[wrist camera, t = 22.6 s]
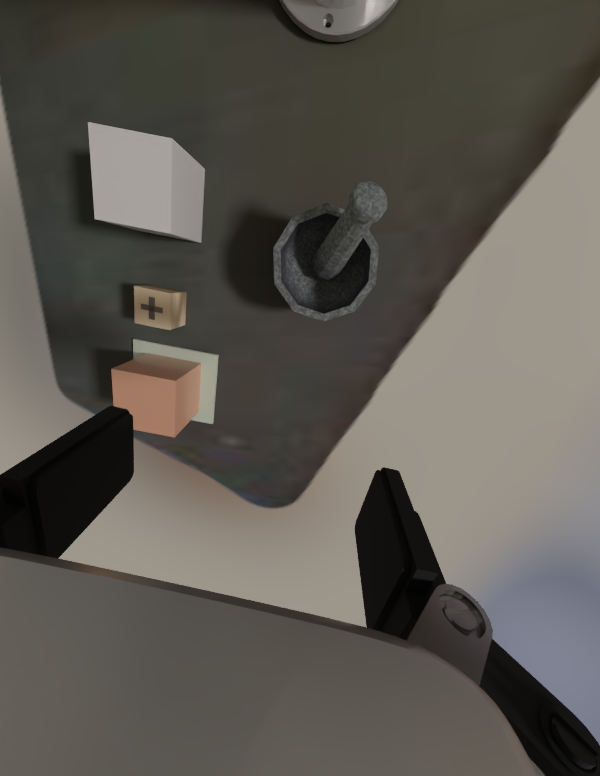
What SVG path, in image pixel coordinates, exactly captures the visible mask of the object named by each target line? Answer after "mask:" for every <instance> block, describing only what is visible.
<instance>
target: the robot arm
mask: <svg viewBox="0 0 600 776" xmlns="http://www.w3.org/2000/svg"><path fill="white" fill-rule="evenodd" d="M279 1H280V3H281V5H282V7H283V9H284V10H285V12H286V13H287V14H288V16H289V17H290V18H291V20H292V21H293V22H294V23H295V24H296V25H297V26H298V27H299V28H300V29H302V30H303V31H304V32H305V33H307V34H309V35H311V36H313V37H314V38H316V39H320V40H324V41H328V42H345V41H349V40H352V39H356V38H358V37H360V36H362V35H364V34H366V33H368V32H370V31H371V30H372V29H373V28H375V27H376V26H377V25H378V24H380V23H381V22H382V21H383V20H384V19H385V18H386V16H387V15H388V14H389V13H390V12H391V11H392V9H393V8H394V7H395V5H396V4H397V2H398V1H399V0H279ZM327 26H330V28H327ZM133 452H134V451H133V416H132V415H131V414H130V413H129V410H127V409H124V408H119V407H115V406H109V407H107V408H106V409H104V410H103V411H101V412H99V413H98V414H96V415H95V416H93V417H92V418H90V419H88V420H87V421H85V422H84V423H82V424H80V425H79V426H78V427H76V428H74V429H72V430H71V431H69V432H68V433H66V434H65V435H63V436H61V437H60V438H58V439H57V440H55V441H53V442H52V443H50V444H49V445H47V446H45V447H44V448H42V449H41V450H39V451H37V452H36V453H34V454H33V455H31V456H30V457H28V458H26V459H25V460H23V461H22V462H20V463H18V464H17V465H15V466H14V467H12V468H10V469H9V470H7V471H6V472H4V473H2V474H1V475H0V776H600V746H599V744H598V742H597V741H596V739H595V738H594V737H593V736H592V734H591V733H590V732H589V730H588V729H587V728H586V726H584V724H583V723H582V722H581V721H580V720H579V719H578V718H577V717H576V716H575V715H574V714H573V713H572V712H571V711H570V710H569V709H568V708H566V706H564V705H563V704H562V703H561V702H560V701H559V700H558V699H557V698H556V697H555V696H554V695H552V694H551V693H550V692H549V691H548V690H547V689H546V688H545V687H544V686H543V685H542V684H541V683H539V682H538V681H537V680H536V679H535V678H534V677H533V676H532V675H531V674H530V673H529V672H527V671H526V670H525V669H524V668H523V667H522V666H521V665H520V664H519V663H518V662H517V661H516V660H515V659H513V658H512V657H511V656H510V655H509V654H508V653H507V652H506V651H505V650H504V649H503V648H501V647H500V646H499V645H498V644H497V643H496V642H495V641H494V640H493V639H492V632H493V630H492V626H491V623H490V620H489V618H488V616H487V614H486V612H485V611H484V609H483V608H482V607H481V606H480V605H479V603H478V602H477V601H476V600H475V599H474V598H473V597H472V596H471V595H470V594H468V593H467V592H465V591H464V590H462V589H461V588H459V587H456V586H454V585H450V584H446V582H445V580H444V577H443V574H442V572H441V569H440V567H439V564H438V562H437V559H436V557H435V555H434V552H433V549H432V547H431V544H430V542H429V539H428V537H427V534H426V532H425V529H424V526H423V524H422V521H421V519H420V517H419V515H418V513H417V512H416V511H414V509H413V506H412V504H411V501H410V499H409V496H408V494H407V491H406V488H405V486H404V483H403V480H402V478H401V475H400V473H399V471H397V470H393V469H389V468H382V469H381V471H379V470H377V471H376V472H375V475H374V478H373V480H372V483H371V485H370V487H369V490H368V492H367V495H366V497H365V500H364V502H363V505H362V508H361V511H360V513H359V515H358V518H357V520H356V524H355V535H356V544H357V552H358V560H359V568H360V576H361V584H362V593H363V601H364V609H365V616H366V625H367V628H366V627H361V626H358V625H354V624H350V623H345V622H341V621H337V620H333V619H329V618H325V617H321V616H317V615H313V614H308V613H304V612H299V611H295V610H290V609H286V608H281V607H277V606H273V605H269V604H264V603H260V602H255V601H251V600H246V599H241V598H237V597H233V596H228V595H224V594H219V593H215V592H210V591H206V590H201V589H197V588H192V587H187V586H183V585H178V584H174V583H169V582H164V581H160V580H156V579H151V578H146V577H142V576H137V575H133V574H128V573H123V572H118V571H113V570H109V569H104V568H99V567H95V566H89V565H85V564H81V563H76V562H72V561H67V560H62V559H58V558H59V557H60V556H61V555H62V553H64V552H65V550H66V549H67V548H68V547H69V546H70V545H71V544H72V543H73V542H74V541H75V539H77V537H78V536H79V535H80V534H81V533H82V532H83V531H84V530H85V529H86V528H87V527H88V526H89V525H90V523H91V522H92V521H93V520H94V519H95V518H96V517H97V516H98V515H99V514H100V513H101V512H102V510H103V509H104V508H105V507H106V506H107V505H108V504H109V503H110V502H111V501H112V500H113V499H114V497H115V496H116V495H117V494H118V493H119V492H120V491H121V490H122V489H123V487H125V486H126V485H127V483H128V482H129V481H130V480H131V478H132V476H133V473H134V453H133Z"/></svg>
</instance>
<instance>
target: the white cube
mask: <svg viewBox="0 0 600 776" xmlns="http://www.w3.org/2000/svg"><path fill="white" fill-rule="evenodd" d="M88 130H89V145H90V159H91V174H92V188H93V203H94V218H95V219H96V220H100V221H104V222H108V223H111V224H115V225H119V226H123V227H127V228H130V229H134V230H138V231H142V232H147V233H152V234H157V235H163V236H168V237H173V238H178V239H183V240H188V241H193V242H198V243H201V236H202V217H203V197H204V177H205V169H204V168H203V167H202V166H201V165H200V164H199V163H198V162H197V161H196V160H195V159H193V158H192V157H191V156H190V155H189V154H188V153H187V152H186V151H185V150H184V149H183V148H182V147H181V146H180V145H179V144H178V143H176V142H175V141H174V140H173V139H172V138H167V137H162V136H157V135H151V134H146V133H141V132H136V131H131V130H126V129H121V128H115V127H110V126H105V125H100V124H95V123H90V122H88Z"/></svg>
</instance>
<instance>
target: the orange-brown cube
mask: <svg viewBox="0 0 600 776" xmlns="http://www.w3.org/2000/svg"><path fill="white" fill-rule="evenodd" d="M111 373H112V388H113V403H114V406H115V407H119V408H124V409H127V410H129V413H130V414H131V415H132V416H133V430H139V431H144V432H149V433H154V434H159V435H165V436H170V437H175V436H176V435H177V434H178V433H179V432H180V431H181V430H182V429H183V428H184V427H185V426H186V425H187V424H188V423H189V421H190V420H191V419H192V418H193V417H194V416H195V415H196V414H197V413H198V412H199V401H200V382H201V363H198V362H193V361H188V360H182V359H177V358H172V357H167V356H161V355H156V354H151V353H147V354H145V355H142V356H140V357H138V358H135V359H133V360H131V361H128V362H126V363H124V364H121V365H119V366H116V367H114V368H112V369H111Z"/></svg>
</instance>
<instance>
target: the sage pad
mask: <svg viewBox="0 0 600 776" xmlns="http://www.w3.org/2000/svg"><path fill="white" fill-rule="evenodd" d="M147 353H151V354H156V355H161V356H167V357H172V358H177V359H182V360H188V361H193V362H198V363H201V382H200V401H199V412H198V413H197V414H196V415H195V416H194V417H193V418H192V419H191V420H194V421H199V422H204V423H209V424H213V421H214V408H215V395H216V383H217V370H218V357H219V355H217V354H212V353H207V352H202V351H197V350H191V349H186V348H181V347H176V346H171V345H166V344H160V343H155V342H150V341H145V340H140V339H133V359H135V358H138V357H140V356H142V355H145V354H147Z"/></svg>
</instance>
